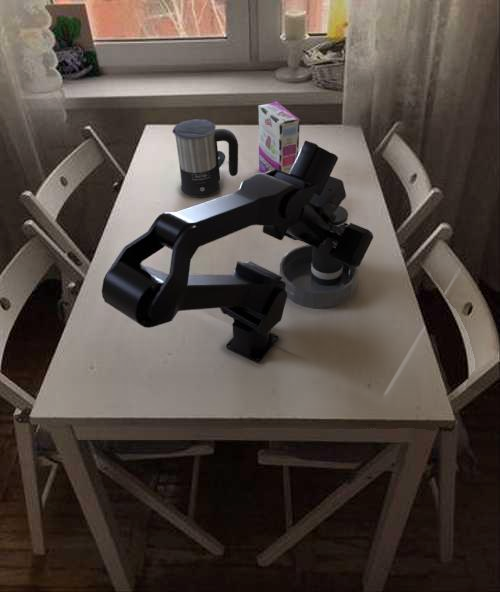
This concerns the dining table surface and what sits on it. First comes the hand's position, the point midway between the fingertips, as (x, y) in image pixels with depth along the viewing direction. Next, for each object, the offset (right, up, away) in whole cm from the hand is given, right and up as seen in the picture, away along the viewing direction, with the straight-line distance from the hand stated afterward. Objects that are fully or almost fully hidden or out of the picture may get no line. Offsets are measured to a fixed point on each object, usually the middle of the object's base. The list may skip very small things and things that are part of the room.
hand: (333, 241), depth 102 cm
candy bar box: (-8, +18, +32) cm, 37 cm away
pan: (-3, -8, +3) cm, 9 cm away
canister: (-1, -6, +4) cm, 7 cm away
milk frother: (-26, +18, +33) cm, 45 cm away
